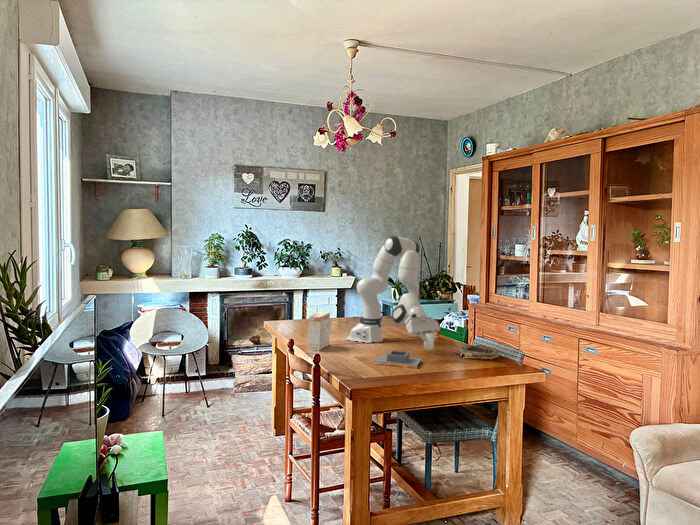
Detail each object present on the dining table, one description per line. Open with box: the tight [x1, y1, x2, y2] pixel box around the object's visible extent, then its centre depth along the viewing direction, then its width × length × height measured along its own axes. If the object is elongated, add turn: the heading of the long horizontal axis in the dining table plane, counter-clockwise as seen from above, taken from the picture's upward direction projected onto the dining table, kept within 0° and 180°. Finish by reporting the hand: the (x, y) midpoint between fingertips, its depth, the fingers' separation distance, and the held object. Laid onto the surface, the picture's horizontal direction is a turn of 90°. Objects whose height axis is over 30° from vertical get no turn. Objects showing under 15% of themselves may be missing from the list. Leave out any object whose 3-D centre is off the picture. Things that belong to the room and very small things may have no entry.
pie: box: [458, 344, 501, 358], centre depth 284 cm, size 28×27×5 cm
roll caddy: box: [373, 350, 422, 366], centre depth 266 cm, size 22×14×5 cm, turn 73°
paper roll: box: [423, 332, 436, 350], centre depth 274 cm, size 5×5×8 cm
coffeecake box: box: [308, 311, 331, 351], centre depth 294 cm, size 15×7×20 cm, turn 160°
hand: (430, 339), depth 273 cm, fingers closed on paper roll, 5 cm apart
